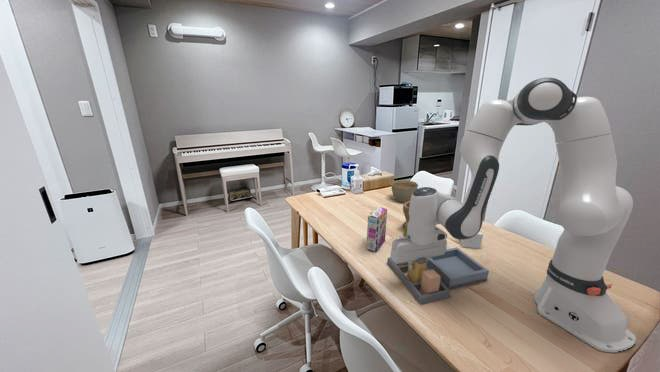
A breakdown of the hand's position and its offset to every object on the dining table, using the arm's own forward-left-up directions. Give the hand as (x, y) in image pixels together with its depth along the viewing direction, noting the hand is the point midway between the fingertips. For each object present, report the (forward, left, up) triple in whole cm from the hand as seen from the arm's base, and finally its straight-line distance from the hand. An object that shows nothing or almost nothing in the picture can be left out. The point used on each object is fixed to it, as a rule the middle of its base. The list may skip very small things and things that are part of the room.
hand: (416, 268), depth 95 cm
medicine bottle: (+14, -36, -5) cm, 39 cm away
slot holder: (0, 0, -5) cm, 5 cm away
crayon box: (+19, -9, -5) cm, 22 cm away
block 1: (+8, 0, -5) cm, 9 cm away
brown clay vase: (+31, -20, -5) cm, 37 cm away
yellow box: (0, 0, -5) cm, 5 cm away
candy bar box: (+25, +4, -5) cm, 26 cm away
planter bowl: (+69, -35, -5) cm, 78 cm away
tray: (0, -16, -5) cm, 17 cm away
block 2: (-8, 0, -5) cm, 9 cm away
